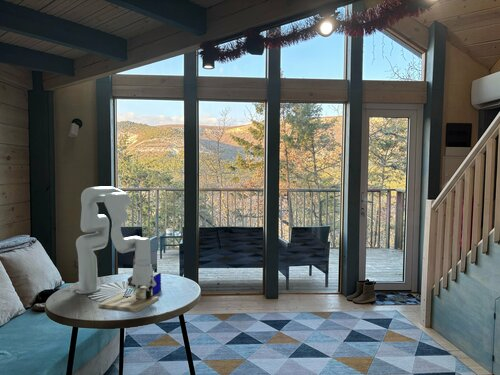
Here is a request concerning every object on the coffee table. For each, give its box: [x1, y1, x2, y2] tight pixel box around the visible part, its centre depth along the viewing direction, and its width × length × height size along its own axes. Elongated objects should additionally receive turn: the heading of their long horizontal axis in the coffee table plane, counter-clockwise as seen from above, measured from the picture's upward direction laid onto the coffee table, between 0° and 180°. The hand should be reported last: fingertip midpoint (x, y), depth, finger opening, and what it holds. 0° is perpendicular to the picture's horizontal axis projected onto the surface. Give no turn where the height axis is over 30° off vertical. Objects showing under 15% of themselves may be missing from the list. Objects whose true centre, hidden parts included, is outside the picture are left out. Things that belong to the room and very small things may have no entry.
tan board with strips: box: [98, 292, 160, 313], centre depth 181 cm, size 22×18×2 cm
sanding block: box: [135, 286, 154, 300], centre depth 184 cm, size 5×7×5 cm
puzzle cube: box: [141, 271, 162, 296], centre depth 198 cm, size 10×10×10 cm
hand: (143, 297), depth 184 cm, fingers closed on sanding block, 5 cm apart
